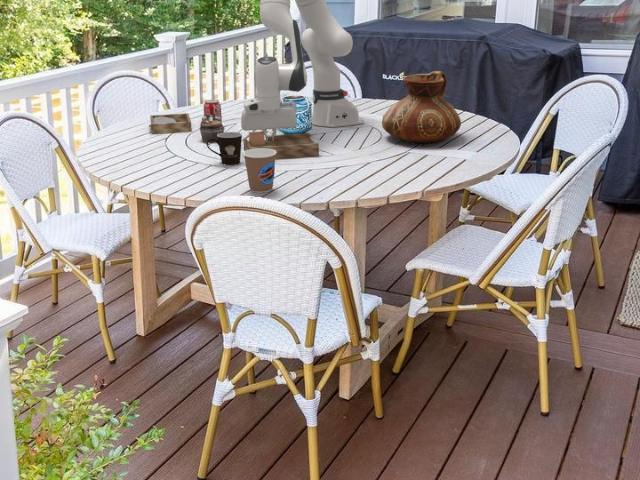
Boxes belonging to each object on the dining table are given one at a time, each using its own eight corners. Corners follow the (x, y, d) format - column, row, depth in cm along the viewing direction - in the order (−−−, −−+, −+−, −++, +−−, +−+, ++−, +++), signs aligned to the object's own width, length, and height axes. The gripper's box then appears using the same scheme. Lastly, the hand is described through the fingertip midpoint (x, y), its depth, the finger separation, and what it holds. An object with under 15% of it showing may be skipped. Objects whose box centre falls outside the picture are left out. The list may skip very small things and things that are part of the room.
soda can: (223, 128, 330) (222, 99, 326) (220, 132, 323) (218, 102, 319) (207, 127, 331) (205, 99, 326) (203, 131, 324) (201, 102, 320)
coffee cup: (261, 196, 242) (259, 158, 238) (238, 190, 248) (236, 153, 244) (284, 189, 249) (283, 151, 245) (261, 182, 256) (260, 146, 251)
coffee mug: (247, 160, 281) (245, 132, 278) (237, 166, 274) (235, 138, 270) (217, 158, 285) (215, 130, 281) (206, 164, 277) (204, 136, 274)
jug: (450, 151, 289) (453, 82, 280) (371, 145, 299) (372, 78, 290) (466, 133, 315) (469, 69, 306) (392, 128, 325) (393, 66, 316)
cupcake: (195, 142, 308) (193, 116, 305) (209, 136, 316) (208, 111, 313) (215, 144, 304) (214, 118, 300) (229, 139, 312) (228, 113, 308)
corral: (189, 122, 341) (188, 113, 339) (191, 131, 324) (191, 122, 323) (151, 124, 338) (150, 115, 336) (151, 134, 321) (150, 124, 320)
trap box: (309, 144, 301) (309, 133, 300) (318, 155, 286) (318, 143, 284) (243, 149, 296) (243, 137, 295) (249, 160, 281) (249, 148, 279)
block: (262, 141, 294) (262, 131, 293) (264, 145, 290) (264, 134, 288) (249, 142, 293) (248, 132, 292) (251, 145, 289) (250, 135, 287)
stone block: (175, 128, 338) (151, 125, 336) (176, 117, 337) (152, 114, 334) (177, 136, 328) (152, 133, 325) (178, 124, 326) (153, 121, 323)
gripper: (295, 100, 292) (295, 137, 297) (239, 103, 288) (241, 140, 293) (298, 103, 286) (299, 141, 291) (241, 106, 282) (243, 144, 287)
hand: (269, 140), depth 292 cm, fingers closed
